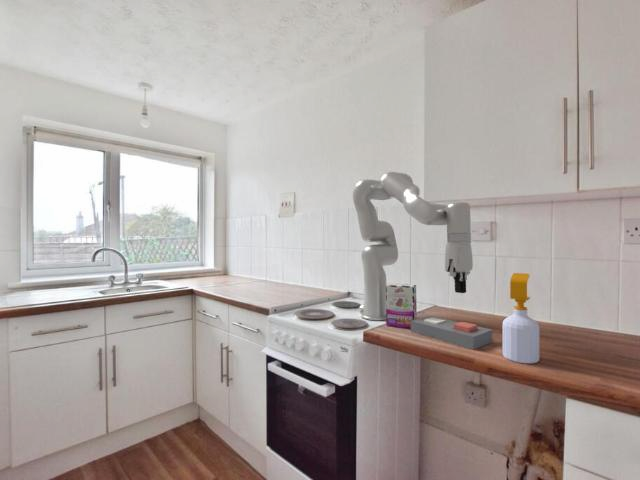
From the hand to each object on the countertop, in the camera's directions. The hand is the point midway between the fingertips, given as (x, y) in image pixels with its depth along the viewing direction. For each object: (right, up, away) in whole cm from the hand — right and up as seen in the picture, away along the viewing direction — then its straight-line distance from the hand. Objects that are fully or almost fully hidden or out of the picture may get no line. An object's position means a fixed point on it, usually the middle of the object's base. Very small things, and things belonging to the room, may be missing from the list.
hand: (460, 292), depth 112 cm
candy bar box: (-16, -16, +17) cm, 29 cm away
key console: (-2, -16, +4) cm, 17 cm away
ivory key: (-6, -14, +9) cm, 17 cm away
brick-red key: (+1, -13, -1) cm, 13 cm away
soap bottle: (+10, -17, -17) cm, 26 cm away
